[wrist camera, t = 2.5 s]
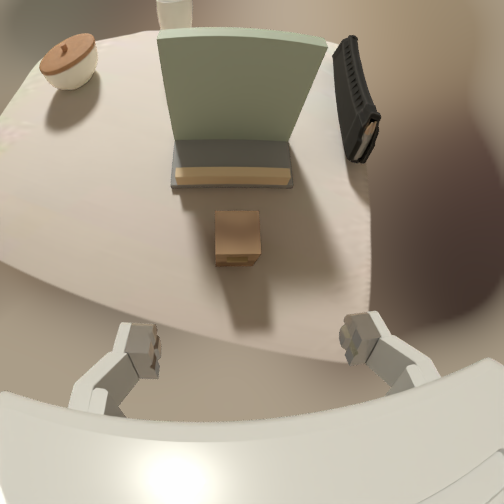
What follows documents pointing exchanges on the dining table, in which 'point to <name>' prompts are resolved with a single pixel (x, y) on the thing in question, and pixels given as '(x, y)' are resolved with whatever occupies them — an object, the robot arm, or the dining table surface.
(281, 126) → the wall board
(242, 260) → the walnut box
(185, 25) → the drinking glass
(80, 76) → the lidded bowl
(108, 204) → the dining table surface
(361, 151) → the magazine
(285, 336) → the dining table surface
